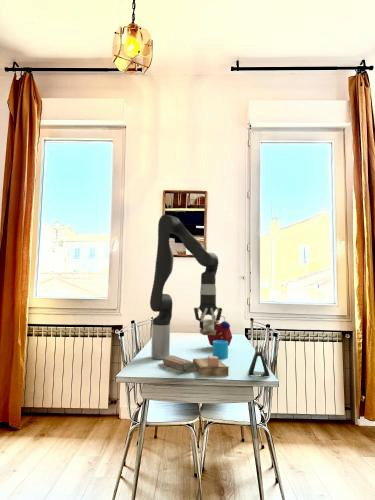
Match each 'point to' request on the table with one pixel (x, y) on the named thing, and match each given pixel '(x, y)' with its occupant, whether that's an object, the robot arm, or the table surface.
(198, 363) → the dock
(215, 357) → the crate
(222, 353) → the mug
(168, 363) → the packaged product
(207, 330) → the tan block
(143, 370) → the table surface
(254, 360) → the dark a-shaped stand
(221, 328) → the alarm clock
